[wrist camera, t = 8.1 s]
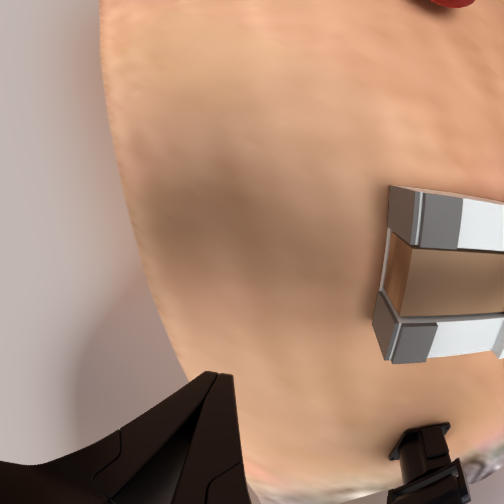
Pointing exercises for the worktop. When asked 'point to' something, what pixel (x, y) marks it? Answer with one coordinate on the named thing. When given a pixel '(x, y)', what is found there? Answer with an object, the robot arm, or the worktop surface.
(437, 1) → the onion
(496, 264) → the peg
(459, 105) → the worktop surface
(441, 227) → the sleeve
